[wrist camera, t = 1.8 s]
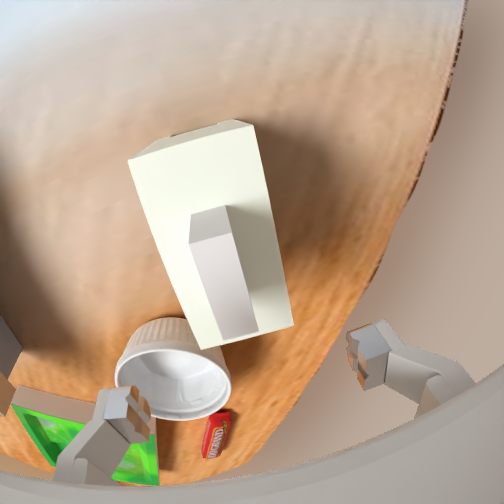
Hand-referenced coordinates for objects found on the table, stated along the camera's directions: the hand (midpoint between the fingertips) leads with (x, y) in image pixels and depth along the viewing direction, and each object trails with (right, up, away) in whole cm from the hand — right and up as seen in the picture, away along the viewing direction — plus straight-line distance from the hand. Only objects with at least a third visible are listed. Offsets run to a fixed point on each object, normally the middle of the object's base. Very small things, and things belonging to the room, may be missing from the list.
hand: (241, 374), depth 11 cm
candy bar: (-6, -27, +37) cm, 46 cm away
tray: (-30, -30, +34) cm, 55 cm away
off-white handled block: (-3, +10, +18) cm, 21 cm away
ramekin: (-9, -8, +26) cm, 29 cm away
